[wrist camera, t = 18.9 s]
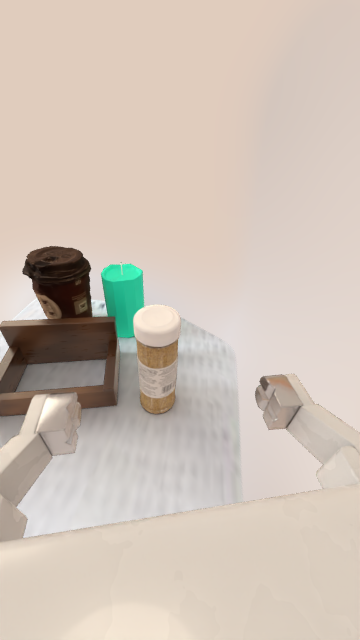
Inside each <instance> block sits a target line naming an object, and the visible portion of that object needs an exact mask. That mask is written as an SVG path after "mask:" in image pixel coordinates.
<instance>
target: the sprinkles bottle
mask: <svg viewBox="0 0 360 640" xmlns="http://www.w3.org/2000/svg"><path fill="white" fill-rule="evenodd" d="M133 324H134V335H135V338H136V340H137V361H138V375H139V385H140V393H141V394H140V402H141V405H142V406H143V408H144V409H145V410H146V411H148V412H150V413H154V414H159V413H164V412H166V411H168V410H169V409H170V408H171V407H172V406H173V404H174V402H175V386H176V376H177V362H178V352H177V351H178V338H179V335H180V330H181V318H180V315H179V313H178V312H177V311H176V310H175V309H173V308H171V307H169V306H165V305H150V306H146V307H143V308H141V309H140V310H139V311H137V313H136V314H135V316H134V319H133Z"/></svg>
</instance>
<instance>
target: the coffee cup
mask: <svg viewBox="0 0 360 640" xmlns="http://www.w3.org/2000/svg"><path fill="white" fill-rule="evenodd" d="M27 258H28V259H26V261H25V266H24V268H23V271H22V272H23V274H24V275H27V276H28V277H29V278H31V279H32V282H33V290H34V292H35V294H36V296H37V298H38V300H39V302H40V304H41V306H42V308H43V311H44V313H45V315H46V316H47V318H48V319H65V318H89V317H92V307H91V295H90V283H89V282H90V277H89V272H90V270H91V267H90V264H89V262H88V260H86V259H85V258H84V257H83V254H82V253H81V252H80V251H79V250H76V249H73V248H64V247H58V246H57V247H56V246H54V247H53V246H50V247H44V248H41V249H37V250H34V251H32V252H30V254H28V256H27Z"/></svg>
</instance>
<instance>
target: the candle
mask: <svg viewBox="0 0 360 640" xmlns="http://www.w3.org/2000/svg"><path fill="white" fill-rule="evenodd" d="M101 277H102V283H103V289H104V295H105V302H106V308H107V314H108V317H112V316H115V319H116V326H117V334H118V337H123V338H130V337H133V336H135V335H134V324H133V319H134V316H135V314H136V313H137V311H139V310H140V309H141V308H143V307H144V294H143V271H142V270H141V269H139V268H137V267H136V266H134V265H132V264H123V265H122V262H121V265H109V266H108V267H106V268H104V269H103V271H102V273H101Z"/></svg>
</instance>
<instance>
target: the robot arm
mask: <svg viewBox="0 0 360 640" xmlns="http://www.w3.org/2000/svg"><path fill="white" fill-rule="evenodd" d="M260 384H261V385H259V386H258V387H257V389H256V391H255V398H256V402H257V405H258V407H259V408H260V409H261V410H263V411H264V413H263V418H264V420H265V423H266V425H267V427H268V429H269V430H273V429H285V428H287V429H286V430H287V431H288V432H289V433H290V434H291V435H293V436H294V437H295V438H296V439H297V440H298V441H299V442H300V443H301V444H302V445H303V446H304V447H305V448H306V449H307V450H308V451H309V452H310V453H311V454H312V455H313V456H314V457H316V458H317V459H318V460H319V461H320V462H321V463H322V464H323V466H322V467H321V468H320V469H319V470H318V471H317V472H316V476H317V479H318V480H319V482H320V484H321V486H322V488H323V489H320V490H314V491H308V492H302V493H296V494H290V495H284V496H278V497H272V498H265V499H260V500H253V501H247V502H241V503H235V504H229V505H223V506H217V507H211V508H205V509H198V510H192V511H186V512H180V513H174V514H168V515H162V516H156V517H150V518H144V519H138V520H132V521H125V522H119V523H113V524H107V525H101V526H95V527H89V528H83V529H77V530H71V531H64V532H58V533H52V534H46V535H40V536H34V537H28V538H23V535H24V531H25V528H26V524H27V520H28V519H27V517H26V516H25V515H24V514H23V513H22V512H21V511H20V510H18V509H17V508H16V507H17V505H18V504H19V503H20V501H21V500H22V499H23V497H24V496H25V495H26V493H27V492H28V490H29V489H30V488H31V486H32V485H33V484H34V482H35V481H36V480H37V478H38V477H39V475H40V474H41V473H42V471H43V470H44V469H45V467H46V466H47V465H48V463H49V462H50V460H51V459H52V458H53V457H52V456H57V455H64V454H71V453H75V451H76V445H77V440H78V435H77V432H76V430H77V429H78V427H79V426H80V423H81V405H80V403H79V402H77V398H78V396H77V394H76V392H70V393H55V394H40V395H35V396H34V397H33V398H32V400H31V403H30V406H29V408H28V411H27V414H26V416H25V419H24V422H23V424H22V427H21V430H20V432H19V435H17V436H14V437H13V438H12V439H10V440H9V441H8V442H7V443H6V444H5V445H4V446H3V447H2V448H1V449H0V640H360V433H359V432H358V431H356V430H355V429H354V428H352V427H351V426H349V425H348V424H346V423H345V422H343V421H342V420H341V419H339V418H338V417H336V416H335V415H333V414H332V413H330V412H329V411H327V410H326V409H324V408H323V407H322V406H320V405H319V404H315V403H314V402H313V400H312V399H311V397H310V396H309V394H308V393H307V391H306V390H305V388H304V387H303V385H302V383H301V382H300V380H299V379H298V378H297V376H296V375H295V374H286V375H272V376H263V377H262V378H261V379H260Z"/></svg>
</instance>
